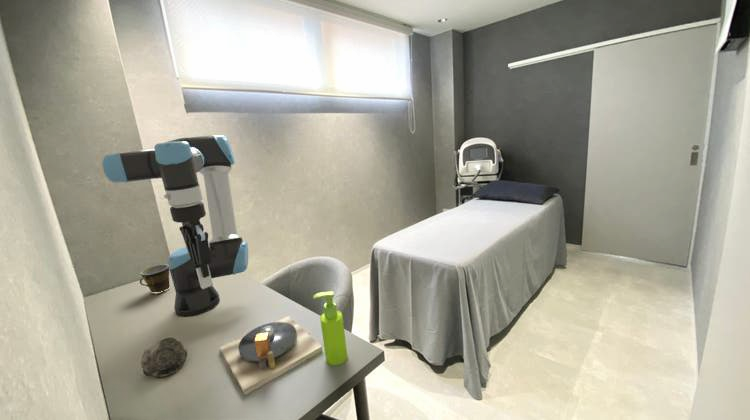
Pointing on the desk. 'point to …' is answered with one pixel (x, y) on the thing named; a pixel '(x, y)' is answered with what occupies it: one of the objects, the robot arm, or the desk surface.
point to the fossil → (163, 358)
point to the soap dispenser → (332, 330)
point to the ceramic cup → (156, 278)
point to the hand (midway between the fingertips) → (206, 286)
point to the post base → (282, 363)
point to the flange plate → (276, 344)
